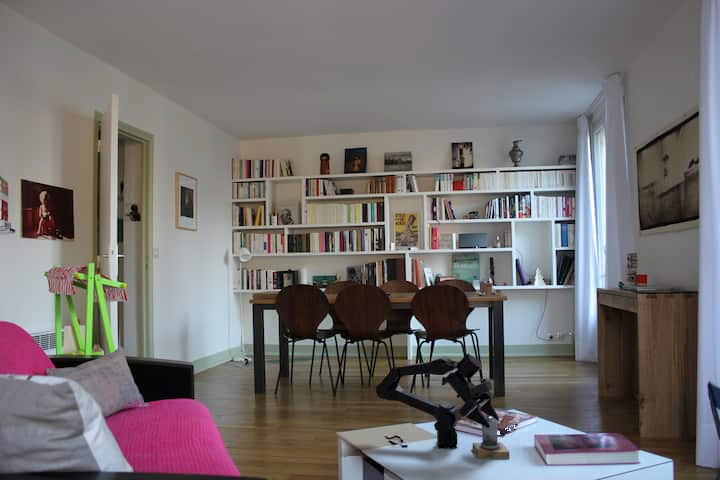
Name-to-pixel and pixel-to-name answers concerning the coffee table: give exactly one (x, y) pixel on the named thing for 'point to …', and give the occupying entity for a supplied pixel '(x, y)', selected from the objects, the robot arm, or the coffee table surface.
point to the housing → (490, 435)
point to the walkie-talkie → (503, 426)
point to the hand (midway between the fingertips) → (493, 423)
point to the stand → (490, 451)
